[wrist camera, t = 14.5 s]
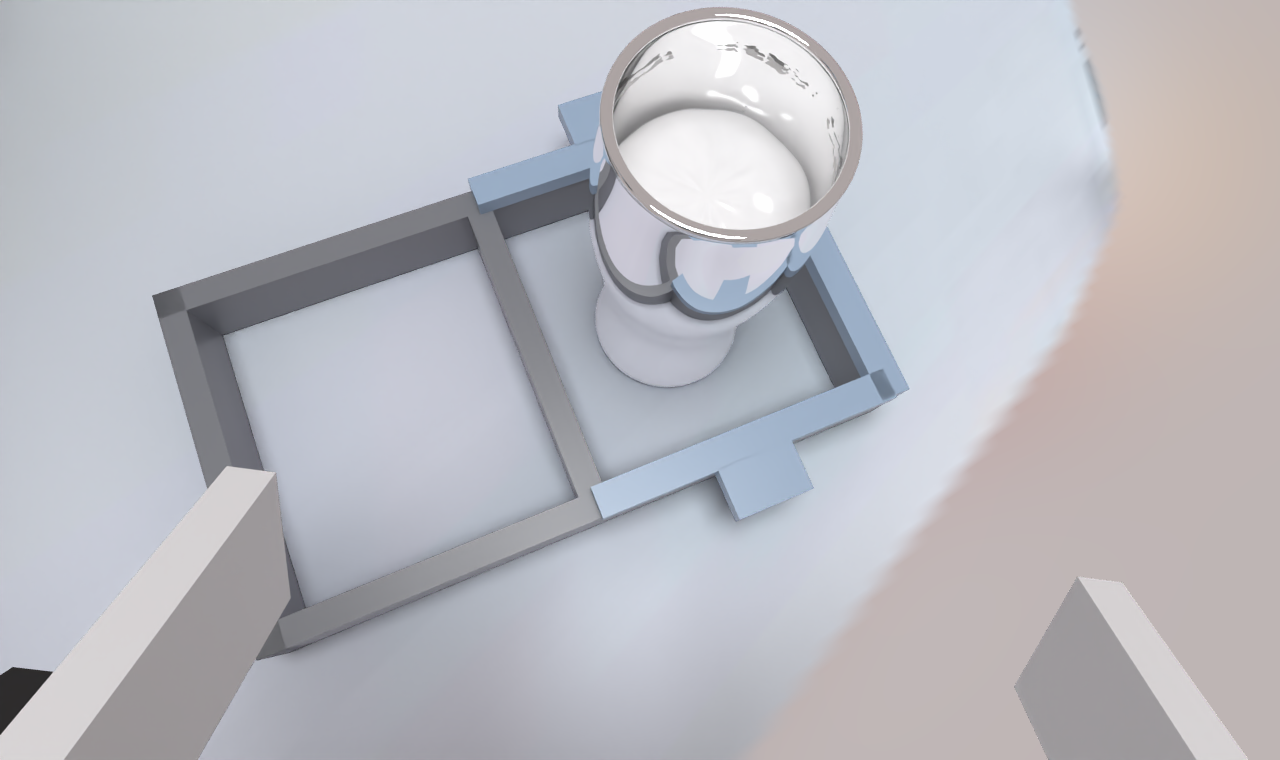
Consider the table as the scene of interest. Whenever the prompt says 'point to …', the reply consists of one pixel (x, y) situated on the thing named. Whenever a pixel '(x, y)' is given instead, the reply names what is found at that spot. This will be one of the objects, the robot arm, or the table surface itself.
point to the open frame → (492, 211)
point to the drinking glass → (711, 183)
